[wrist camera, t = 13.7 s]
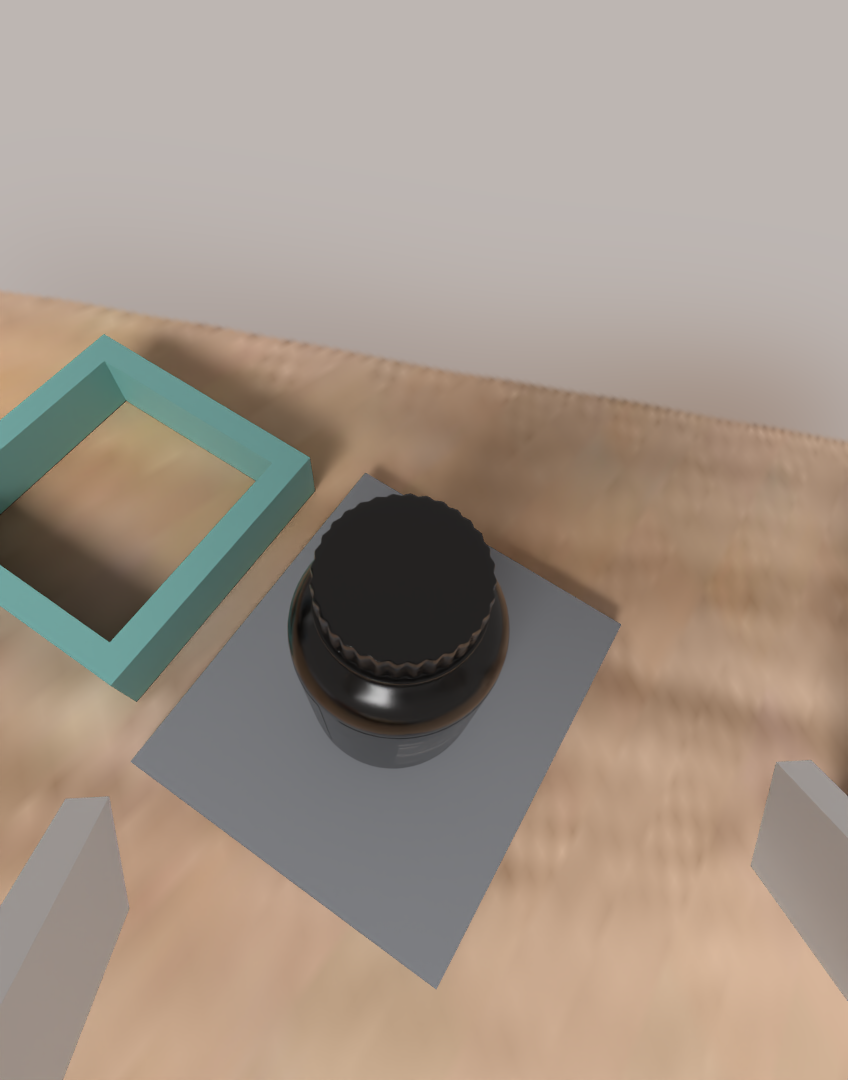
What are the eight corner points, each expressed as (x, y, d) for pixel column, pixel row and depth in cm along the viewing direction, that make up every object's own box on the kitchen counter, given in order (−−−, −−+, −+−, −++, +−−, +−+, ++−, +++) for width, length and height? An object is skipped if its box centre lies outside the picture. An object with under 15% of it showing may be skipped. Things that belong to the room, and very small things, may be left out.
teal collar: (-74, 549, 29) (-120, 519, 26) (125, 375, 34) (103, 334, 31) (136, 701, 26) (110, 685, 24) (314, 491, 31) (310, 457, 29)
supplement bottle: (478, 618, 28) (545, 477, 17) (467, 780, 25) (540, 731, 14) (324, 598, 28) (297, 444, 17) (295, 760, 25) (239, 695, 14)
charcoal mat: (139, 764, 25) (130, 761, 24) (365, 483, 32) (365, 472, 31) (433, 983, 23) (436, 989, 22) (613, 631, 29) (621, 624, 29)
